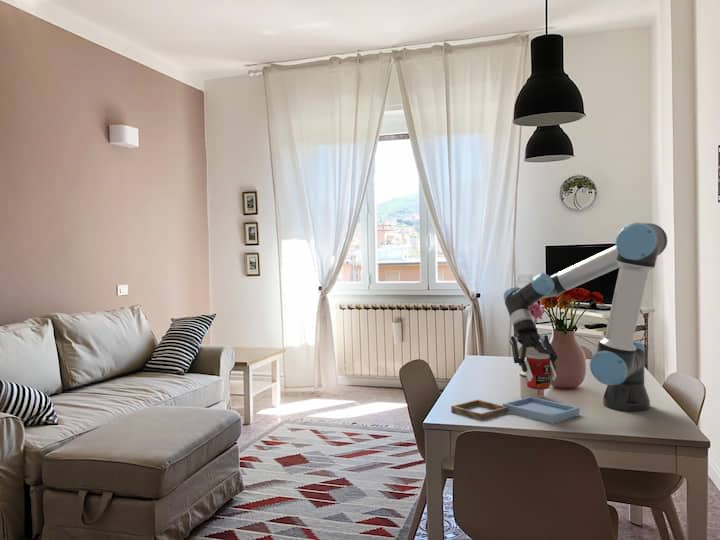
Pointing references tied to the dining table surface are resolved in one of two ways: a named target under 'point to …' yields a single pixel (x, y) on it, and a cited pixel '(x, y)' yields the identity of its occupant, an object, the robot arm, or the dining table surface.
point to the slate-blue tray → (541, 409)
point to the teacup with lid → (527, 391)
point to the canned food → (539, 370)
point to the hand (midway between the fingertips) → (542, 378)
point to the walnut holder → (495, 411)
